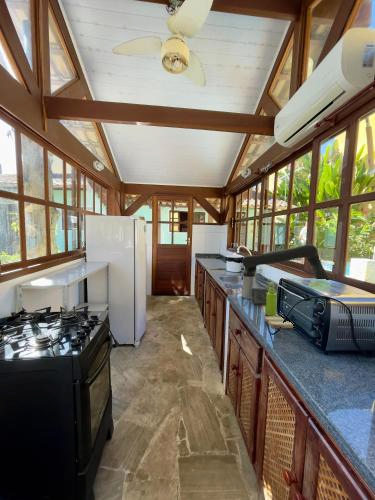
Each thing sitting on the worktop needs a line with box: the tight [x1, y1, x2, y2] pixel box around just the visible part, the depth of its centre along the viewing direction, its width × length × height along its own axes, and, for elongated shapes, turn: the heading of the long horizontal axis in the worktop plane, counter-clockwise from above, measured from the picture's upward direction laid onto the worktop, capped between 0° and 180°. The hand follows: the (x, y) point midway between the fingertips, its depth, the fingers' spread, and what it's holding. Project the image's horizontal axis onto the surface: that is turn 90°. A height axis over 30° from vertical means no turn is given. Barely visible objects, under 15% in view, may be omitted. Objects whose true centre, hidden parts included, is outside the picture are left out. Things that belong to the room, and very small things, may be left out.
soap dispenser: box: [265, 281, 278, 316], centre depth 140 cm, size 6×7×20 cm
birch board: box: [263, 315, 294, 329], centre depth 125 cm, size 12×12×2 cm
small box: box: [251, 287, 269, 306], centre depth 161 cm, size 11×6×10 cm, turn 84°
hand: (279, 296), depth 140 cm, fingers open, 8 cm apart
